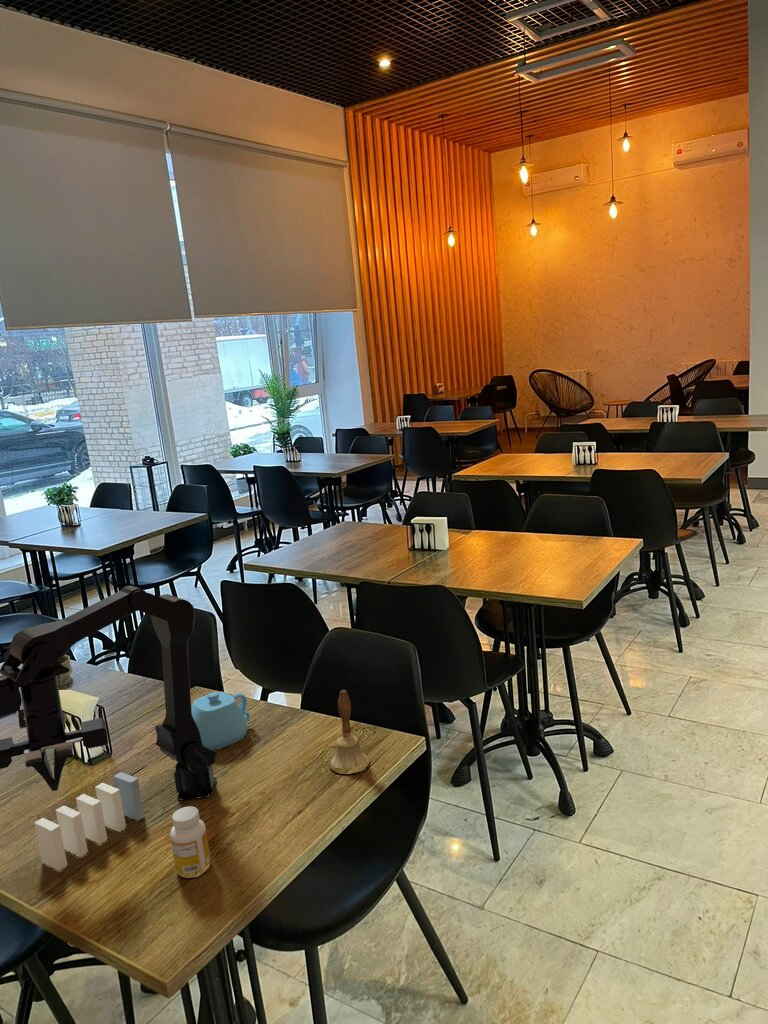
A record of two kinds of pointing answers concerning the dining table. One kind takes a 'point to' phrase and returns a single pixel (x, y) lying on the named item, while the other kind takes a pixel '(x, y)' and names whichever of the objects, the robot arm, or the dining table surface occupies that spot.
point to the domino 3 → (92, 818)
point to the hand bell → (347, 739)
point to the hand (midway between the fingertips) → (55, 789)
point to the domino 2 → (72, 830)
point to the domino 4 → (111, 806)
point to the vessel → (64, 677)
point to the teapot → (220, 719)
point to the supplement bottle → (189, 841)
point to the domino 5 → (129, 795)
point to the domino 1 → (50, 843)
